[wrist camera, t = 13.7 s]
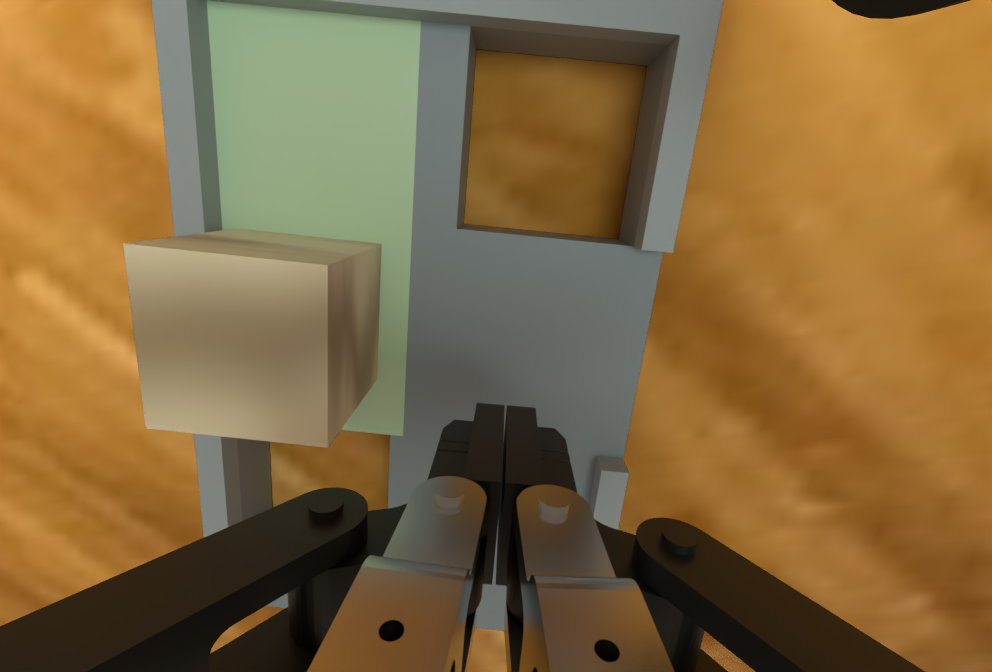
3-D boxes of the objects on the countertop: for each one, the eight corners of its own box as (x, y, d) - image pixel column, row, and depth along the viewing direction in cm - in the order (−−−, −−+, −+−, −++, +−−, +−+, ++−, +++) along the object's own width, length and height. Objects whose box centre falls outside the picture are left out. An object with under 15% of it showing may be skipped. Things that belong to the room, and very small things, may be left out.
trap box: (580, 593, 24) (591, 660, 20) (254, 560, 24) (211, 621, 20) (681, 36, 17) (724, -4, 13) (219, -9, 17) (145, -59, 13)
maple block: (377, 379, 18) (327, 447, 13) (243, 365, 18) (145, 428, 13) (381, 243, 16) (327, 265, 12) (236, 228, 17) (123, 243, 12)
